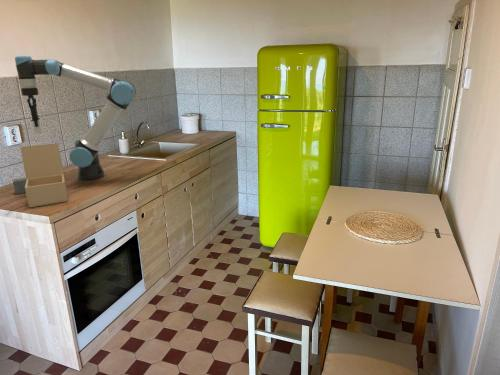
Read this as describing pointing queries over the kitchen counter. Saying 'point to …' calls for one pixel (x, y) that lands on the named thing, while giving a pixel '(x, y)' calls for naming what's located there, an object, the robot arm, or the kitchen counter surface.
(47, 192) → the box
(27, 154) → the lid
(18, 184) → the block
